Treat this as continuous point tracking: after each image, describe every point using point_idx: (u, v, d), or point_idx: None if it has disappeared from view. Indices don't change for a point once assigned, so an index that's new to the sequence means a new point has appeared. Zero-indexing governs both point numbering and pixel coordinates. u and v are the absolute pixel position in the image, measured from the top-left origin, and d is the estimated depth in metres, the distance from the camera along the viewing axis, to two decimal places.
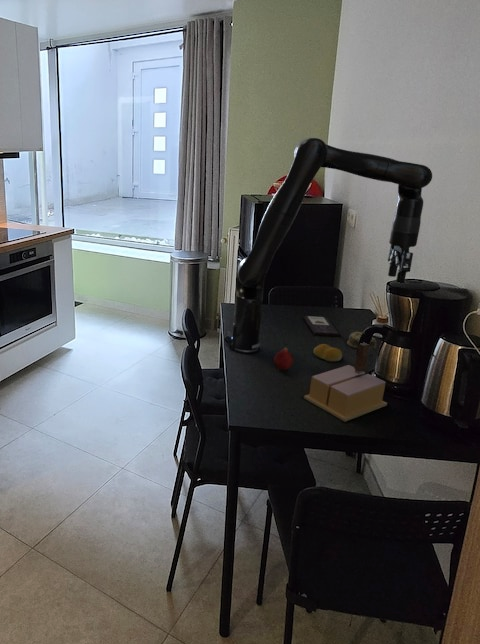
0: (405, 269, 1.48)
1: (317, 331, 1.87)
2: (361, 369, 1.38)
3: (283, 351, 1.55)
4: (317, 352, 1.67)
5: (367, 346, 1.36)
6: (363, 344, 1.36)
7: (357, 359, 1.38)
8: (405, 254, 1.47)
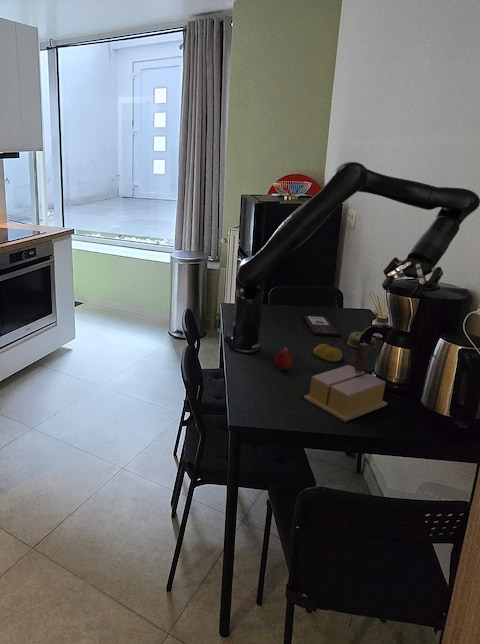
0: (433, 284, 1.32)
1: (317, 331, 1.87)
2: (361, 369, 1.38)
3: (283, 351, 1.55)
4: (317, 352, 1.67)
5: (367, 346, 1.36)
6: (363, 344, 1.36)
7: (357, 359, 1.38)
8: (440, 269, 1.33)
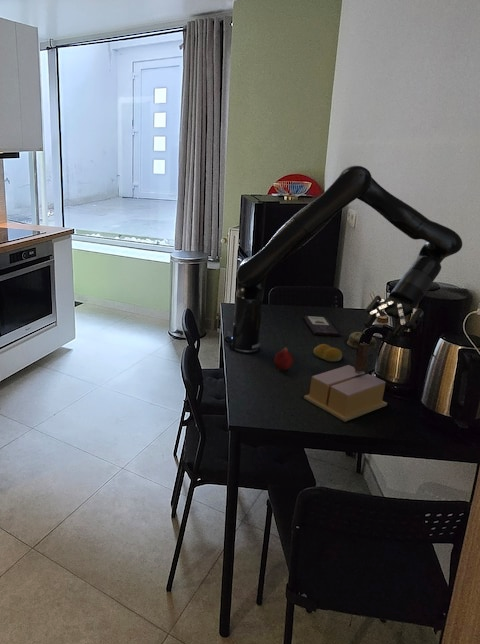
0: (413, 325, 1.33)
1: (317, 331, 1.87)
2: (361, 369, 1.38)
3: (283, 351, 1.55)
4: (317, 352, 1.67)
5: (367, 346, 1.36)
6: (363, 344, 1.36)
7: (357, 359, 1.38)
8: (421, 311, 1.34)
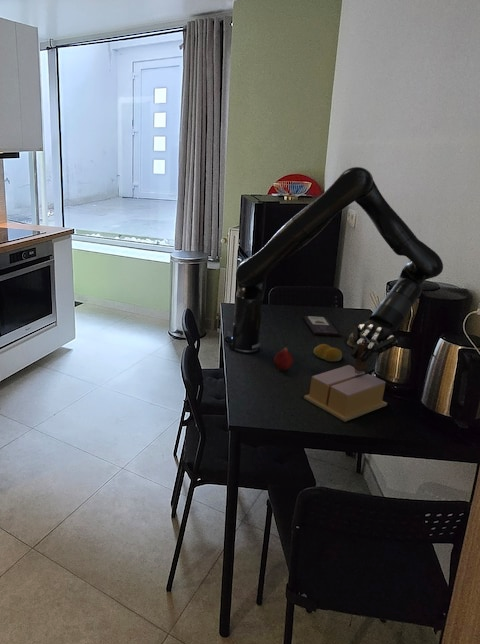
0: (379, 350, 1.34)
1: (317, 331, 1.87)
2: (361, 369, 1.38)
3: (283, 351, 1.55)
4: (317, 352, 1.67)
5: (367, 346, 1.36)
6: (363, 344, 1.36)
7: (357, 359, 1.38)
8: (395, 340, 1.32)
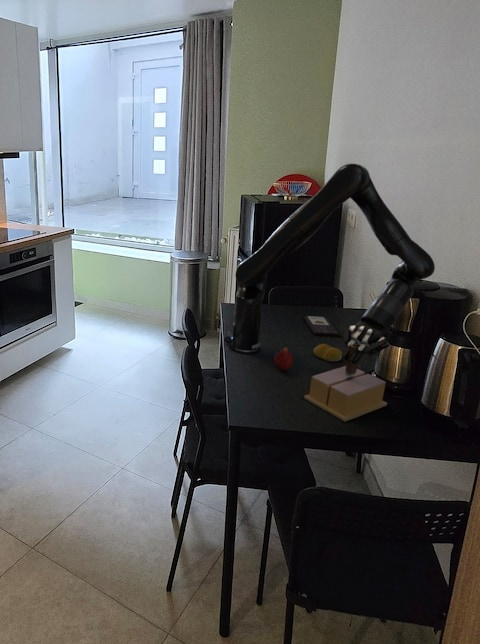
0: (370, 352, 1.32)
1: (317, 331, 1.87)
2: (352, 371, 1.36)
3: (283, 351, 1.55)
4: (317, 352, 1.67)
5: None
6: (354, 346, 1.34)
7: (348, 361, 1.36)
8: (385, 342, 1.30)
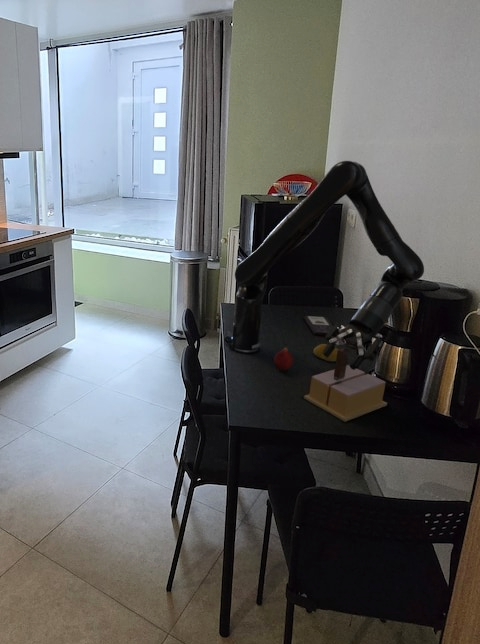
0: (372, 356, 1.27)
1: (317, 331, 1.87)
2: (340, 376, 1.33)
3: (283, 351, 1.55)
4: (317, 352, 1.67)
5: (346, 352, 1.32)
6: (342, 350, 1.32)
7: (336, 365, 1.34)
8: (380, 341, 1.28)
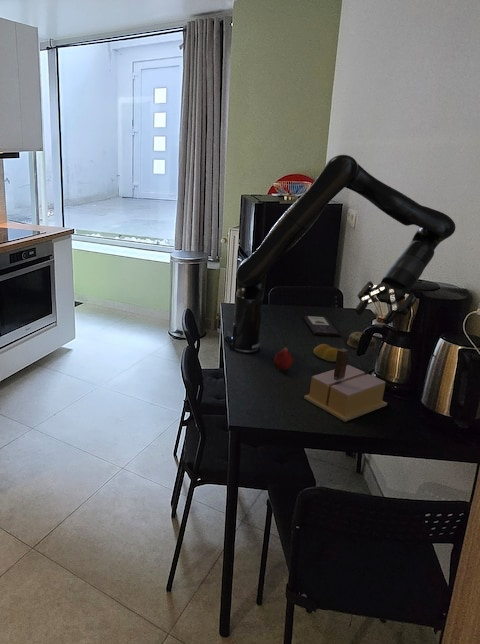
0: (405, 311, 1.30)
1: (317, 331, 1.87)
2: (340, 376, 1.33)
3: (283, 351, 1.55)
4: (317, 352, 1.67)
5: (346, 352, 1.32)
6: (342, 350, 1.32)
7: (336, 365, 1.34)
8: (413, 296, 1.31)
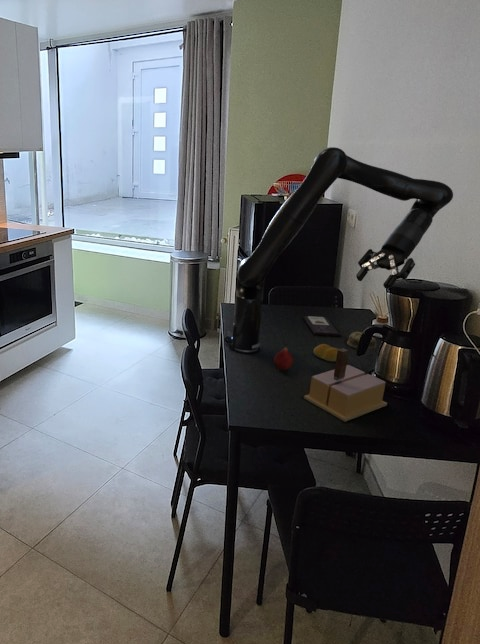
0: (405, 275, 1.35)
1: (317, 331, 1.87)
2: (340, 376, 1.33)
3: (283, 351, 1.55)
4: (317, 352, 1.67)
5: (346, 352, 1.32)
6: (342, 350, 1.32)
7: (336, 365, 1.34)
8: (412, 260, 1.35)
